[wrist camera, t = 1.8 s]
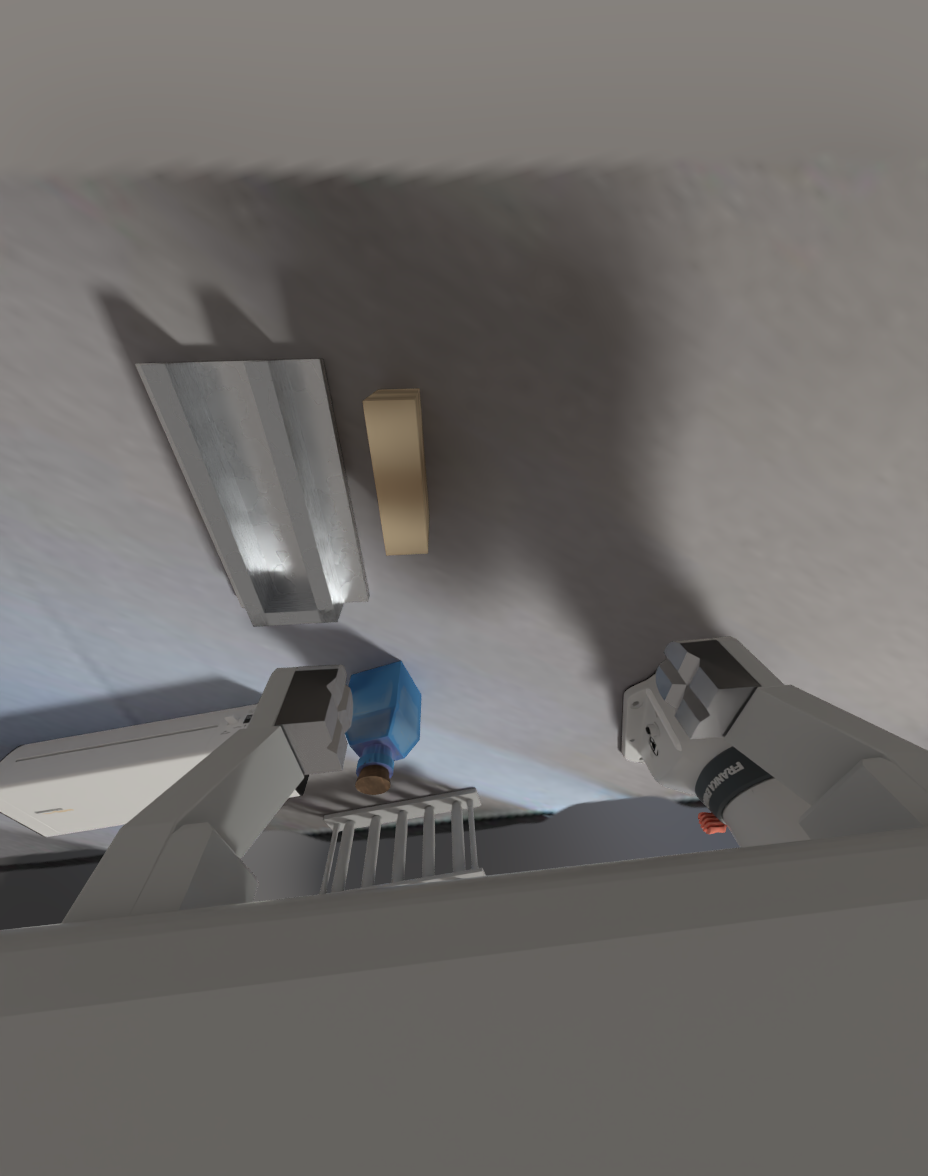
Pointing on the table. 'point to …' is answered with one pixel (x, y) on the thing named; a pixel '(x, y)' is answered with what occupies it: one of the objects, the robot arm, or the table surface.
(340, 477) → the floor track
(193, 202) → the table surface
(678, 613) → the table surface
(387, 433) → the tan wooden block
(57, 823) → the laminator
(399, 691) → the perfume bottle
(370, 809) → the test tube rack
